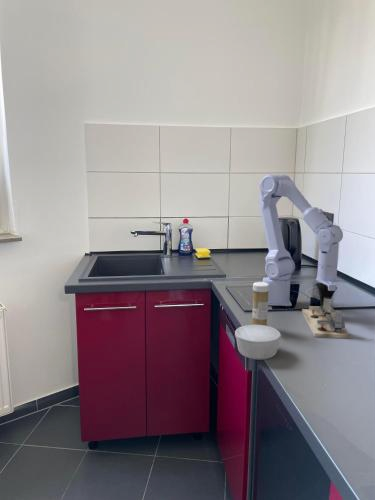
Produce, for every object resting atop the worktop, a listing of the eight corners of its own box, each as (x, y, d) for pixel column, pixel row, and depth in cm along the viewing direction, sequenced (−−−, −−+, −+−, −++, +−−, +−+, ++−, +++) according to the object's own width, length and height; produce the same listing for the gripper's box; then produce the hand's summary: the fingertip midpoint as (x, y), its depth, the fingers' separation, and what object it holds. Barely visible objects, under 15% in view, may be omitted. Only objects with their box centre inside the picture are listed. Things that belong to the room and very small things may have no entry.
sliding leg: (309, 315, 122) (310, 298, 121) (307, 311, 125) (308, 296, 124) (333, 315, 121) (334, 299, 120) (330, 312, 124) (331, 296, 123)
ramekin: (225, 351, 100) (226, 332, 99) (252, 339, 107) (252, 320, 106) (262, 367, 92) (263, 345, 91) (288, 352, 100) (289, 332, 99)
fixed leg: (318, 330, 110) (319, 312, 109) (316, 326, 113) (317, 309, 112) (344, 331, 109) (345, 313, 108) (341, 327, 112) (342, 309, 111)
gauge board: (314, 336, 109) (315, 329, 108) (302, 311, 128) (302, 306, 128) (348, 338, 108) (349, 331, 107) (330, 312, 127) (330, 307, 127)
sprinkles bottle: (249, 325, 117) (251, 281, 114) (264, 324, 117) (266, 281, 115) (254, 331, 112) (255, 286, 110) (269, 330, 113) (271, 285, 110)
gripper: (347, 270, 115) (344, 314, 117) (334, 259, 129) (332, 299, 131) (322, 269, 115) (320, 313, 118) (312, 259, 130) (310, 298, 132)
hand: (324, 306), depth 125 cm, fingers closed
